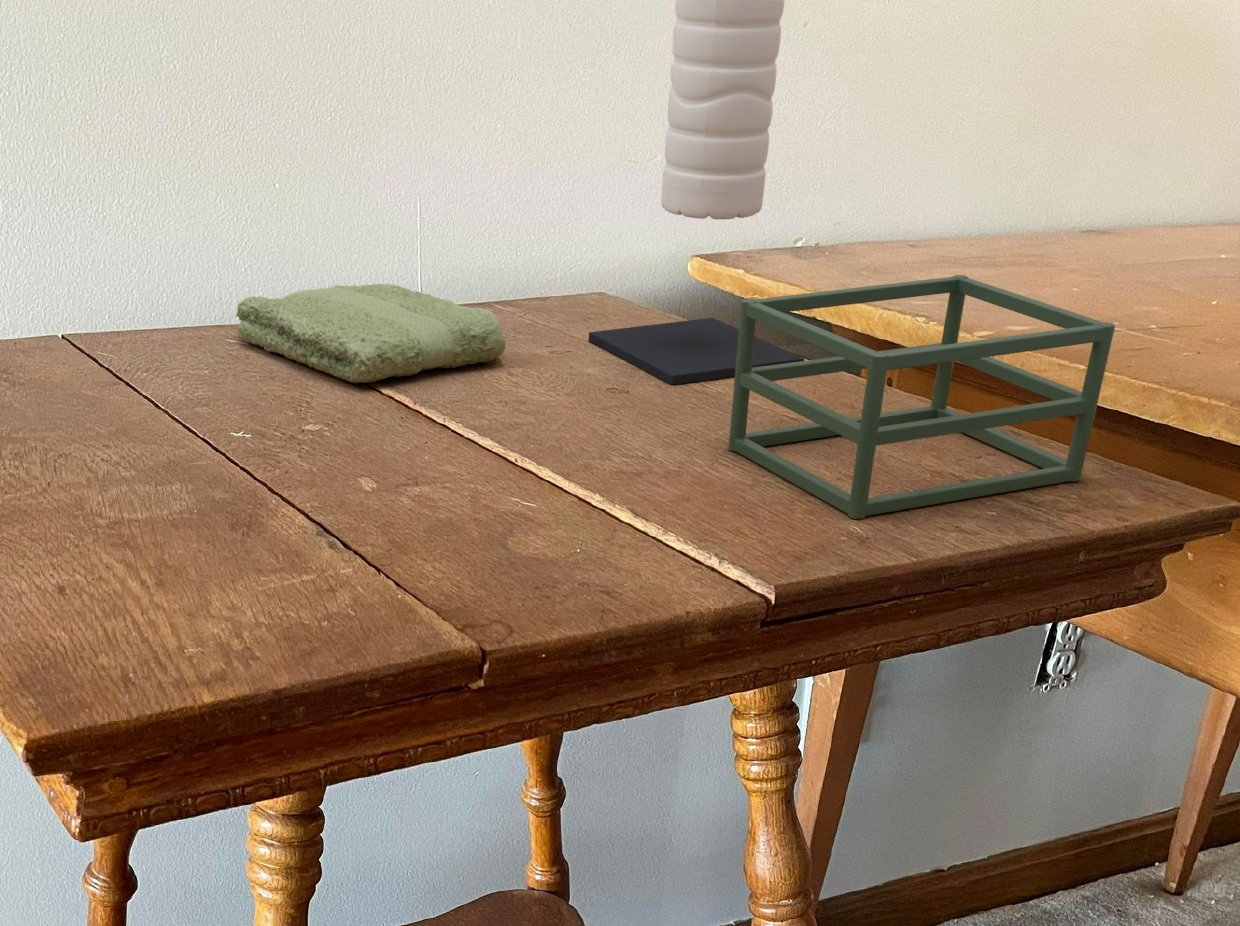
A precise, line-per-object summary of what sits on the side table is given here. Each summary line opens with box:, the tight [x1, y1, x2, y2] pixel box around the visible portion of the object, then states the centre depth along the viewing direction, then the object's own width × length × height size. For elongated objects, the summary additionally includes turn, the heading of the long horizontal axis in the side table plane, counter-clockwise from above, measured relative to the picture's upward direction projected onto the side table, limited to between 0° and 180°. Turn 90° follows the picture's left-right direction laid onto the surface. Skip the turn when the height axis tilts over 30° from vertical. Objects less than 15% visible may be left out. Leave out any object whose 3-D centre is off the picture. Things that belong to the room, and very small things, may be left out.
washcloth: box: [235, 283, 507, 384], centre depth 104 cm, size 13×18×3 cm
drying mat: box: [588, 317, 805, 386], centre depth 104 cm, size 12×10×1 cm
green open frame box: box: [728, 274, 1116, 520], centre depth 83 cm, size 13×15×8 cm
